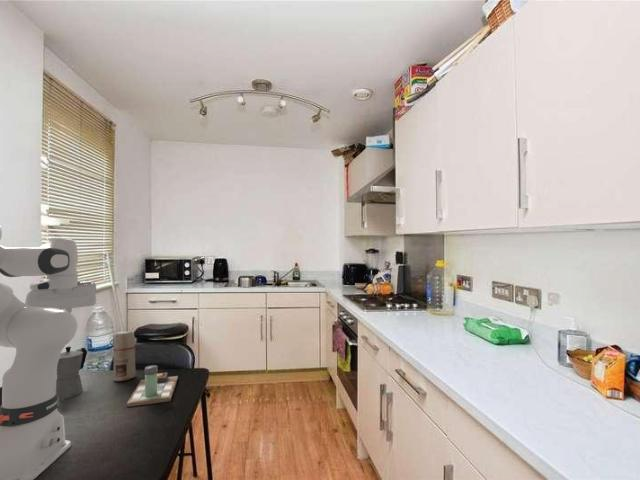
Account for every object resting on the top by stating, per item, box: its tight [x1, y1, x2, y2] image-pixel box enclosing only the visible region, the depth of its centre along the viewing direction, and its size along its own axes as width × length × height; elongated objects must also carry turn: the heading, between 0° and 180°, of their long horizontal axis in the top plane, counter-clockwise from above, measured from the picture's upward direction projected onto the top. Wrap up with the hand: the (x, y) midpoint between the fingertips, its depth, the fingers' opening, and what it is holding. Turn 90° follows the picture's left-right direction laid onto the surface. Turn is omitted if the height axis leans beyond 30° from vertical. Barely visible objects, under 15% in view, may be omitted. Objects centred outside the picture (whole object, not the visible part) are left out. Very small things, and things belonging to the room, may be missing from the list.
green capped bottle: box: [144, 364, 159, 397], centre depth 122 cm, size 4×4×10 cm
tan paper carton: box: [112, 330, 137, 382], centre depth 143 cm, size 8×8×20 cm
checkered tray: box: [126, 372, 179, 407], centre depth 129 cm, size 22×14×3 cm, turn 17°
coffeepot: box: [56, 346, 88, 400], centre depth 129 cm, size 15×9×18 cm, turn 174°
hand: (62, 321), depth 120 cm, fingers closed
